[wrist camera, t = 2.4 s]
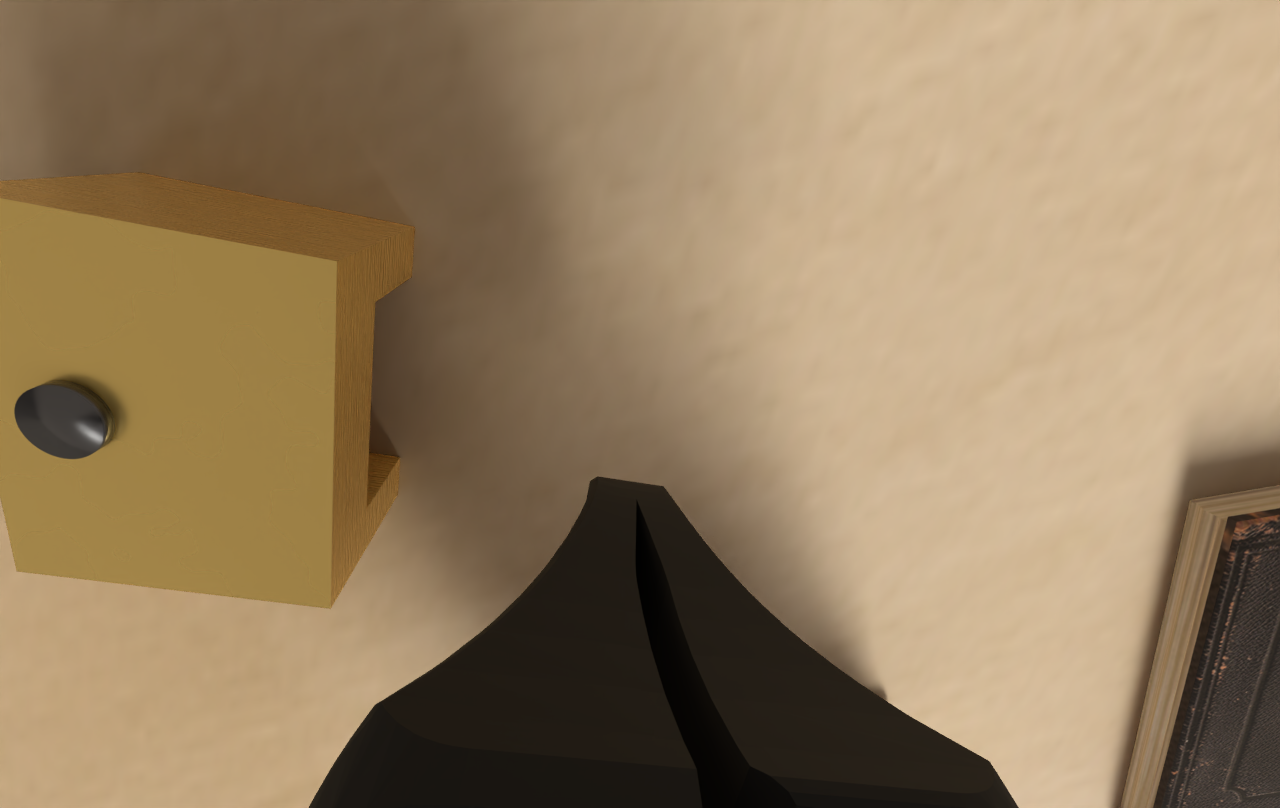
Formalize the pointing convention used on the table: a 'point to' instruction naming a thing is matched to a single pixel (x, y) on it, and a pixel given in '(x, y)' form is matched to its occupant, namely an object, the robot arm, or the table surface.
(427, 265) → the table surface
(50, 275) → the wooden knob block
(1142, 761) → the hardcover book
